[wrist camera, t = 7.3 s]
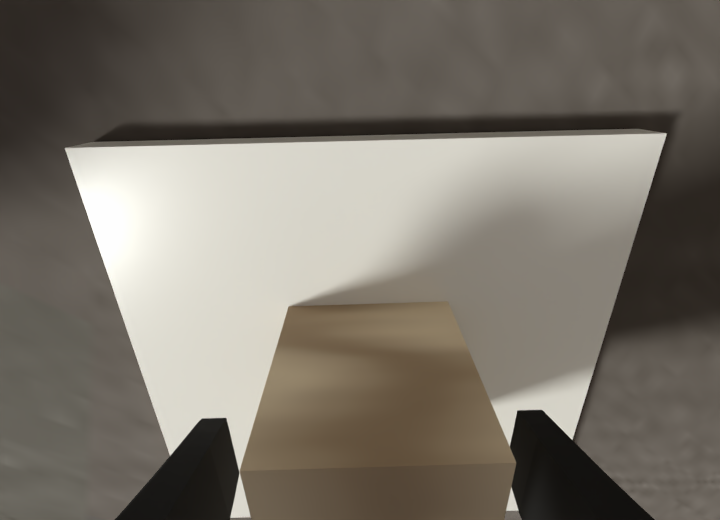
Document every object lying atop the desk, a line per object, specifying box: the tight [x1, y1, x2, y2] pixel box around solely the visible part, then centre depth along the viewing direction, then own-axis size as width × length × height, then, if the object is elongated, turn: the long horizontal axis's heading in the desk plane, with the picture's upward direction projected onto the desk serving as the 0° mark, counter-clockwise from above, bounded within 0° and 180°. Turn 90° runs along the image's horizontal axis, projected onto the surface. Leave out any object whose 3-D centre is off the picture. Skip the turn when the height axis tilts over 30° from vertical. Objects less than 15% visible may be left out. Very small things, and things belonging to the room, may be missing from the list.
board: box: [65, 129, 667, 518], centre depth 12 cm, size 14×14×1 cm
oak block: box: [240, 301, 516, 520], centre depth 9 cm, size 4×4×5 cm
